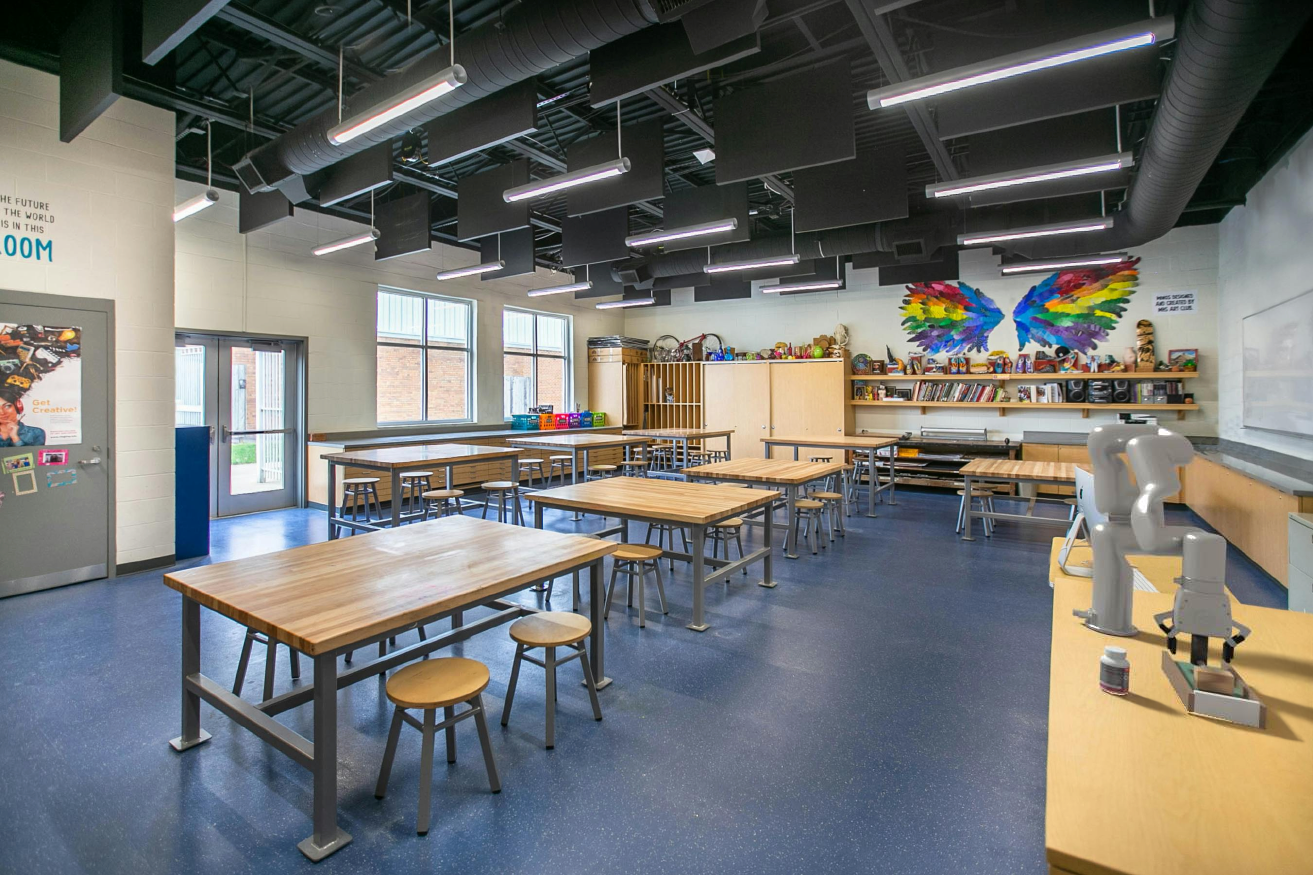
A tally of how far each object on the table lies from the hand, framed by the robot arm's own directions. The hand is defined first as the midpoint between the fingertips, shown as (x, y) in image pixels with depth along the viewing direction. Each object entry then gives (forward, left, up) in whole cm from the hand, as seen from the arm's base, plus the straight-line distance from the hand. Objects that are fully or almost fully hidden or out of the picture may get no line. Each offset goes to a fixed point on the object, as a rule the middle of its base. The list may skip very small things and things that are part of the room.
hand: (1199, 656), depth 143 cm
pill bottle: (-18, -16, -6) cm, 25 cm away
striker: (0, -6, -3) cm, 7 cm away
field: (0, -8, -6) cm, 10 cm away
